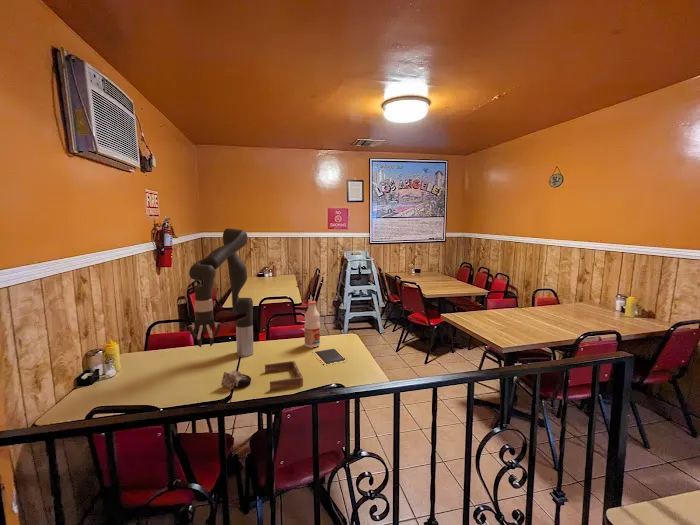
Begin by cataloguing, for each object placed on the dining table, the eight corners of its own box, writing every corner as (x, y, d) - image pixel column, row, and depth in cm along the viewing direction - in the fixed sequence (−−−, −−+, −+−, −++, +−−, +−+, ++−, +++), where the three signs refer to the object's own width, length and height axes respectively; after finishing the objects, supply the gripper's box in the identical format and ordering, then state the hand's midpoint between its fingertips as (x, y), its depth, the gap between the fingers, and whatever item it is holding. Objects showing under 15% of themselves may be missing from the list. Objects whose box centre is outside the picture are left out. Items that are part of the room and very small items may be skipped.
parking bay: (265, 372, 176) (264, 364, 176) (294, 367, 182) (294, 360, 181) (270, 390, 157) (270, 382, 157) (302, 385, 163) (302, 377, 162)
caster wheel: (252, 387, 166) (240, 394, 156) (232, 379, 169) (220, 385, 159) (255, 373, 166) (244, 380, 156) (235, 366, 168) (223, 372, 159)
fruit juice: (306, 342, 218) (306, 299, 214) (320, 343, 218) (320, 300, 214) (303, 348, 209) (303, 303, 205) (318, 348, 208) (318, 303, 205)
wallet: (348, 359, 190) (322, 363, 184) (348, 362, 190) (322, 367, 184) (335, 347, 208) (311, 350, 202) (335, 350, 209) (311, 353, 203)
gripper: (221, 305, 158) (222, 341, 161) (187, 308, 153) (189, 345, 156) (221, 309, 151) (222, 347, 154) (185, 312, 146) (187, 351, 149)
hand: (205, 345), depth 155 cm, fingers open, 3 cm apart
